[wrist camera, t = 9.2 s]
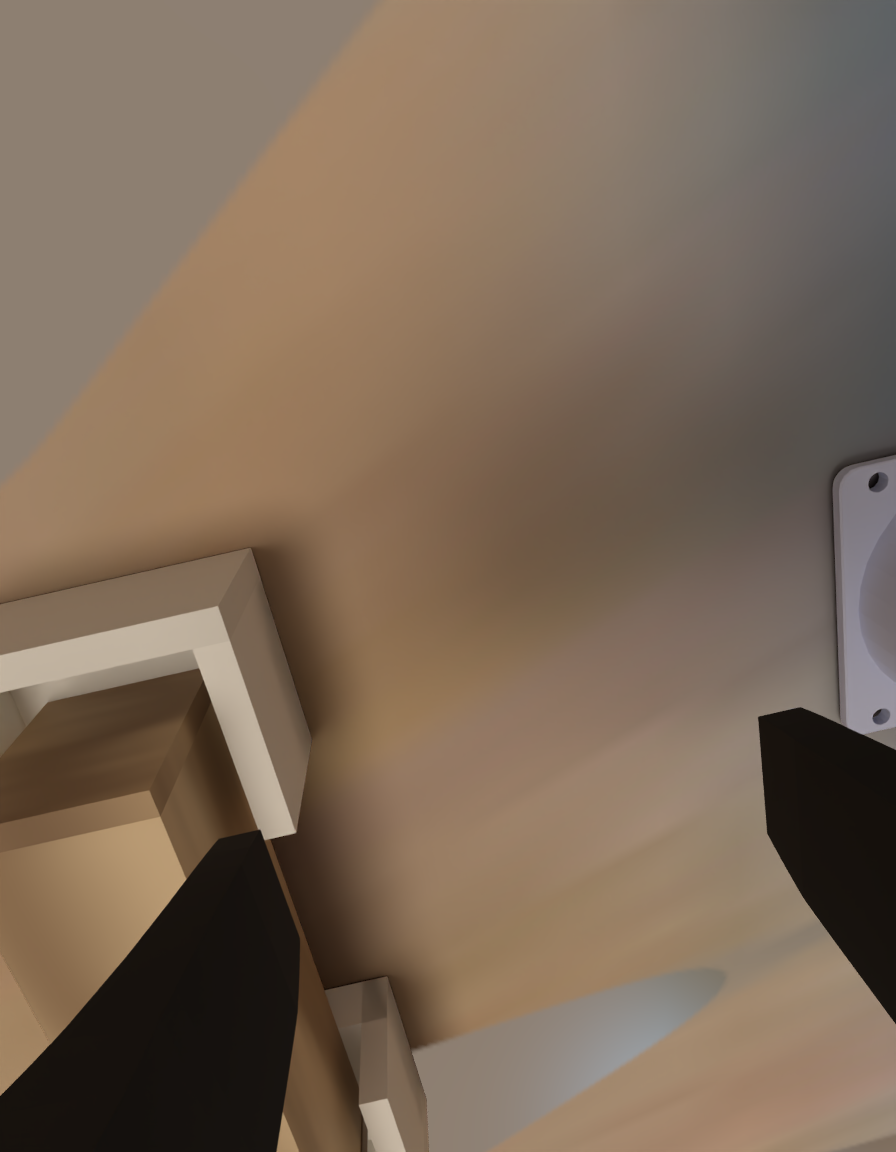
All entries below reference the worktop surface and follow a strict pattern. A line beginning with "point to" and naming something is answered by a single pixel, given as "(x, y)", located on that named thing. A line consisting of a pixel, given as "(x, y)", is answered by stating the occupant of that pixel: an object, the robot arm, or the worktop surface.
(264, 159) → the worktop surface
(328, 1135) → the oak rail
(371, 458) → the worktop surface
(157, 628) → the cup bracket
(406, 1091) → the cup bracket
